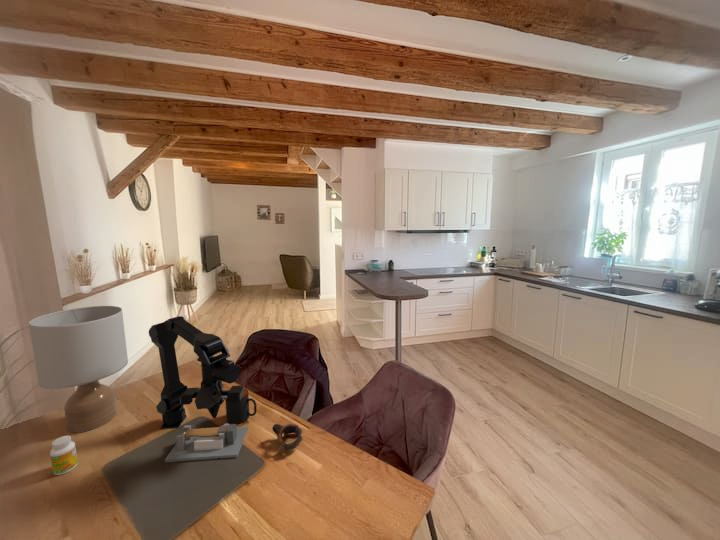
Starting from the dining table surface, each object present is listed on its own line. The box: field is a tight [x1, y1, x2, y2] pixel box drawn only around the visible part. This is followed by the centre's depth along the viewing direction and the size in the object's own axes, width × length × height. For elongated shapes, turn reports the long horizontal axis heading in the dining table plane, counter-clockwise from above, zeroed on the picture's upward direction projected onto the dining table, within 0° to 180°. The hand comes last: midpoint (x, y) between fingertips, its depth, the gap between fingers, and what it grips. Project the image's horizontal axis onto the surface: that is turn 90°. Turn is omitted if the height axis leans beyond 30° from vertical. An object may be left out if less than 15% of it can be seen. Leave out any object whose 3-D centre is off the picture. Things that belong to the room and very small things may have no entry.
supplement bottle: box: [49, 435, 79, 476], centre depth 88 cm, size 5×5×10 cm
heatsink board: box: [164, 423, 249, 463], centre depth 98 cm, size 22×13×6 cm, turn 96°
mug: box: [224, 387, 258, 426], centre depth 112 cm, size 8×12×10 cm
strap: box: [180, 424, 229, 438], centre depth 98 cm, size 15×3×2 cm, turn 96°
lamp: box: [28, 305, 129, 433], centre depth 107 cm, size 24×24×42 cm
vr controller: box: [272, 423, 303, 454], centre depth 100 cm, size 12×10×8 cm
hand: (214, 417), depth 97 cm, fingers closed
